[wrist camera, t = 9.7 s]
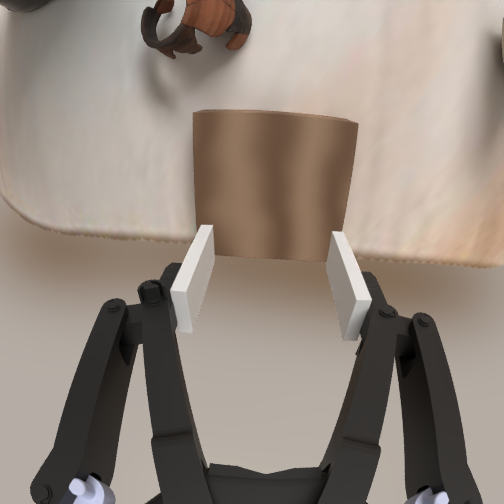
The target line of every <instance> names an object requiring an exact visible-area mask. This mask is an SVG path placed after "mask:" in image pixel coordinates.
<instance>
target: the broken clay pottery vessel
mask: <svg viewBox="0 0 504 504" xmlns="http://www.w3.org/2000/svg"><path fill="white" fill-rule="evenodd" d="M173 6H174V0H158V1H157V2H156V4H155V6H154V9H153V8H151V7H146V9H145V10H144V11H143V15H142V20H141V33H142V35H143V39H144V42H145V43H146V44H147V45H148V46H149V47H151V48H156V49H157V50H159V51H160V52H161V53H163V54H164V55H166V56H168V57H170V58H172V59H175V58H176V56H175V55H174V53H173V50H174V51H176V52H180V53H189V54H195V53H197V52H199V51H201V50H202V46H201V45H199V44H197V40H196V37H195V29H197V30H199V31H202V32H204V33H205V34H207V35H209V36H210V37H218V36H221V35H222V34H223V33H224V32H225V31H226V32H235V33H234V35H233V37H232V38H231V40H230V41H229V42H228V43H227V44H226V46H225V47H226V48H227V49H235V50H237V49H239V48H240V47H241V46H242V45H243V44H244V42H245V41H246V39H247V37H248V35H249V33H250V30H251V26H252V18H251V14H250V12H249V10H248V9H247V8H246V6H245V5H244V3H243V1H242V0H186V9H185V13H184V16H183V18H182V20H181V23H180V25H179V26H178V27H177V29H176V30H175V31H174V32H173V33H172V34H171V35H170V36H169V37H167V38H166V39H164V40H162V41H158V38H157V34H156V26H157V23H158V21H159V18H160V16H161V14H165V13H168V12H171V11H172V9H173Z"/></svg>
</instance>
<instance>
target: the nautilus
mask: <svg viewBox="0 0 504 504" xmlns="http://www.w3.org/2000/svg"><path fill="white" fill-rule="evenodd" d="M501 44H502V58H503V62H504V18H503V27H502V41H501Z"/></svg>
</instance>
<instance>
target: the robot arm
mask: <svg viewBox="0 0 504 504" xmlns="http://www.w3.org/2000/svg"><path fill="white" fill-rule="evenodd" d="M48 1H49V0H0V5H2V6H4V7H6V8H7V9H8V10H10V11H13V12H24V13H25V12H30V11H33V10H35V9H37V8H39V7H41V6H42V5H44V4H45V3H47V2H48ZM214 263H215V253H214V235H213V225H201V226H200V228H199V230H198V232H197V234H196V236H195V238H194V241H193V243H192V245H191V247H190V249H189V251H188V253H187V255H186V257H185V259H184V262H183V263H171V264H170V265H168V266H167V267H166V268H165V270H164V272H163V274H162V276H161V278H160V280H148V281H145V282H143V283H142V284H141V285H140V286H139V287H138V294H139V298H140V301H141V304H136V305H126V303H125V301H124V300H122V299H118V298H116V299H111V300H109V301H107V302H106V303H104V305H103V306H102V308H101V310H100V312H99V314H98V317H97V319H96V322H95V324H94V326H93V329H92V331H91V334H90V336H89V338H88V341H87V343H86V346H85V349H84V351H83V354H82V356H81V359H80V362H79V364H78V367H77V370H76V373H75V376H74V379H73V382H72V384H71V388H70V390H69V394H68V397H67V400H66V403H65V406H64V410H63V413H62V417H61V420H60V424H59V427H58V431H57V436H56V439H55V443H54V447H53V449H52V451H51V452H50V454H49V456H48V457H47V459H46V460H45V462H44V464H43V465H42V466H41V468H40V470H39V471H38V473H37V475H36V476H35V478H34V480H33V481H32V483H31V486H30V494H31V496H32V499H33V501H34V502H35V503H36V504H115V495H114V493H113V491H112V490H111V489H110V488H109V486H110V484H111V481H112V478H113V474H114V468H115V461H116V455H117V448H118V442H119V435H120V429H121V424H122V418H123V413H124V407H125V402H126V397H127V392H128V387H129V383H130V378H131V374H132V369H133V365H134V361H135V357H136V353H137V349H138V345H139V344H143V353H144V365H145V377H146V386H147V395H148V402H149V410H150V417H151V424H152V430H153V438H152V439H151V446H152V452H153V458H154V463H155V468H156V473H157V477H158V482H159V486H160V490H161V493H159V494H158V495H157V496H155V497H154V498H152V499H151V500H150V501H148V502H147V503H145V504H368V503H367V502H366V499H367V496H368V494H369V490H370V488H371V485H372V481H373V478H374V475H375V472H376V468H377V465H378V461H379V458H380V453H381V447H380V446H379V445H378V444H379V438H380V434H381V430H382V425H383V421H384V416H385V412H386V407H387V401H388V396H389V390H390V384H391V378H392V371H393V363H394V356H395V361H396V368H397V375H398V381H399V390H400V399H401V407H402V420H403V433H404V453H405V488H406V494H407V499H408V500H407V501H406V502H405V503H404V504H483V503H482V499H481V495H480V493H479V490H478V488H477V485H476V483H475V481H474V478H473V476H472V473H471V471H470V469H469V467H468V464H467V456H466V448H465V441H464V434H463V428H462V423H461V417H460V412H459V407H458V402H457V397H456V393H455V389H454V385H453V381H452V377H451V373H450V369H449V366H448V362H447V359H446V355H445V352H444V349H443V345H442V342H441V339H440V336H439V333H438V330H437V327H436V324H435V322H434V320H433V318H432V317H431V316H429V315H427V314H426V313H421V312H420V313H416V314H414V316H413V317H412V319H410V318H406V317H402V316H399V315H398V312H397V311H396V309H395V308H393V307H392V306H390V305H388V304H387V302H386V299H385V297H384V295H383V293H382V290H381V289H380V286H379V285H378V281H377V279H376V277H375V276H374V275H373V274H372V273H371V272H361V271H360V269H359V267H358V264H357V262H356V259H355V257H354V255H353V252H352V250H351V248H350V245H349V243H348V241H347V238H346V236H345V234H344V232H337V231H332V235H331V241H330V247H329V252H328V258H327V264H326V270H327V274H328V278H329V282H330V286H331V290H332V294H333V298H334V303H335V307H336V311H337V315H338V320H339V325H340V329H341V333H342V338H343V341H351V340H352V341H354V340H357V339H358V336H359V334H361V338H362V340H361V342H360V345H359V347H358V350H357V352H356V355H357V357H356V361H355V364H354V368H353V372H352V375H351V379H350V382H349V386H348V389H347V392H346V396H345V399H344V402H343V405H342V409H341V411H340V415H339V418H338V420H337V423H336V426H335V429H334V432H333V434H332V437H331V440H330V443H329V445H328V448H327V450H326V453H325V455H324V458H323V460H322V462H321V463H320V465H319V467H313V468H293V469H289V470H284V471H280V472H275V473H270V474H262V473H259V472H255V471H252V470H248V469H245V468H242V467H238V466H230V465H221V464H213V463H210V467H209V468H208V467H207V463H206V460H205V458H204V455H203V452H202V448H201V445H200V441H199V437H198V434H197V430H196V426H195V422H194V419H193V414H192V410H191V406H190V402H189V398H188V393H187V388H186V384H185V380H184V375H183V371H182V365H181V360H180V355H179V349H178V344H177V338H176V334H175V330H176V327H177V326H178V330H179V332H184V333H193V332H194V329H195V326H196V323H197V319H198V316H199V312H200V309H201V306H202V302H203V299H204V295H205V292H206V289H207V286H208V282H209V279H210V276H211V273H212V270H213V266H214Z"/></svg>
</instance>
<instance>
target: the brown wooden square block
mask: <svg viewBox="0 0 504 504" xmlns="http://www.w3.org/2000/svg"><path fill="white" fill-rule="evenodd" d="M357 133H358V123H355V122H353V121H350V120H347V119H343V118H336V117H328V116H321V115H312V114H302V113H292V112H279V111H261V110H201V111H198V112H194V113H193V155H194V185H195V206H196V224H197V232H198V230H199V228H200V226H201V225H213V235H214V253H215V255H224V256H239V257H254V258H271V259H286V260H303V261H319V262H327V258H328V252H329V247H330V241H331V235H332V231H337V232H342V228H343V223H344V217H345V212H346V207H347V201H348V195H349V189H350V183H351V177H352V170H353V163H354V156H355V149H356V141H357Z"/></svg>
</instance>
